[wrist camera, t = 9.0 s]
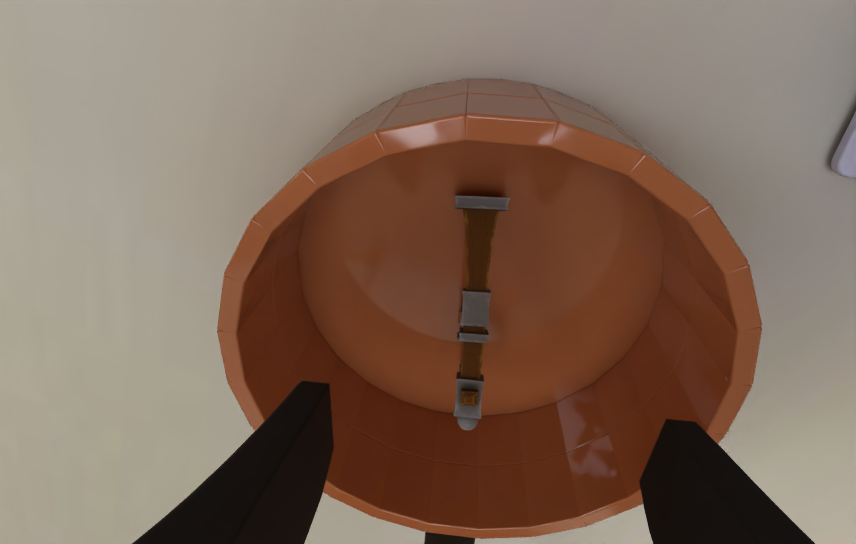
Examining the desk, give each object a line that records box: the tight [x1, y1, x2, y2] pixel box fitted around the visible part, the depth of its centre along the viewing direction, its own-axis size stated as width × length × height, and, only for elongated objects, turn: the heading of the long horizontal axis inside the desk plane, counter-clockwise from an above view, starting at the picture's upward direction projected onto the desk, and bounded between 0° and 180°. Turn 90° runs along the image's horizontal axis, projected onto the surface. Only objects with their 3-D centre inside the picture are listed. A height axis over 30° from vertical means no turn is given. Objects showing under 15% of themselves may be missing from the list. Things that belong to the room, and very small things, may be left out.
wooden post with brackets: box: [453, 195, 510, 430], centre depth 17 cm, size 2×8×4 cm, turn 179°
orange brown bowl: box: [217, 79, 762, 539], centre depth 16 cm, size 15×15×6 cm
